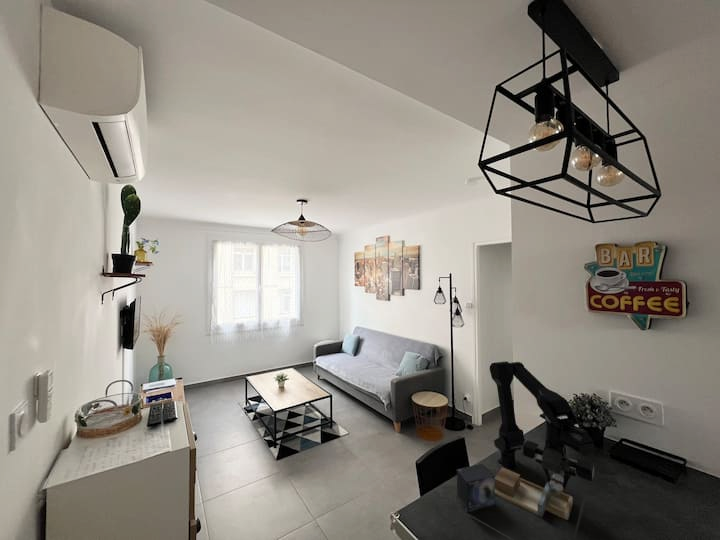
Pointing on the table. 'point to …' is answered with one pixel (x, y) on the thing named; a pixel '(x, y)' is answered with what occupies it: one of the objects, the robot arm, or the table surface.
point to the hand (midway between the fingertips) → (556, 485)
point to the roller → (556, 484)
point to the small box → (475, 487)
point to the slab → (507, 482)
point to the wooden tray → (540, 499)
